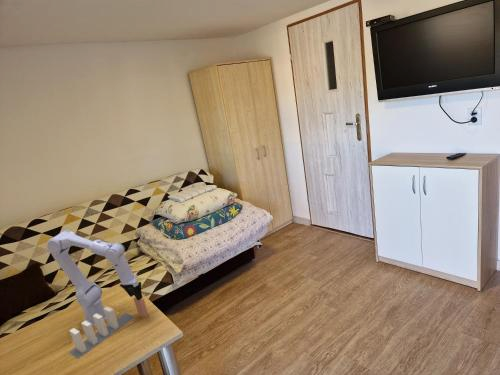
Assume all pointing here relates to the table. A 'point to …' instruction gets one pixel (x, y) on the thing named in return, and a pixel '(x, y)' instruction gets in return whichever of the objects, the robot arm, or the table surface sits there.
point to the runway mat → (121, 322)
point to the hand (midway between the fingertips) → (136, 297)
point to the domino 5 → (141, 307)
